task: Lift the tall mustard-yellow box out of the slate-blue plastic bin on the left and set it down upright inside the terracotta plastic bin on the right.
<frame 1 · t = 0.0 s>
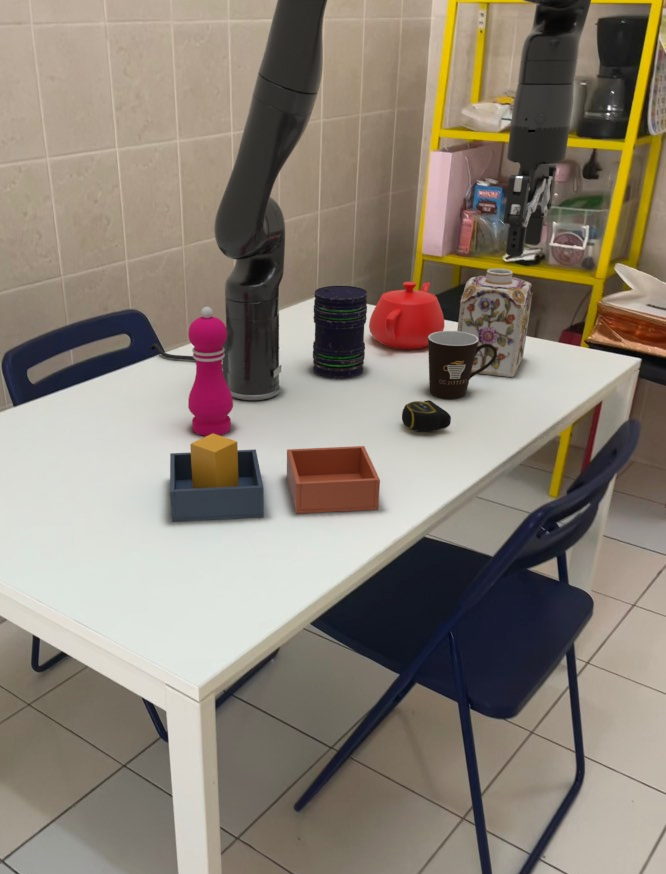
hand: (523, 249, 123), 29 cm above the table, tool pointing down, fingers open, 8 cm apart
decorative jar: (488, 366, 170), on the table
slate bin: (216, 498, 122), on the table
pepper mill: (211, 430, 143), on the table
teapot: (406, 341, 184), on the table
mustard box: (216, 495, 121), resting on slate bin
storage jar: (338, 371, 168), on the table
tape measure: (425, 428, 143), on the table
coffee mug: (455, 395, 156), on the table
terracotta bin: (330, 493, 123), on the table
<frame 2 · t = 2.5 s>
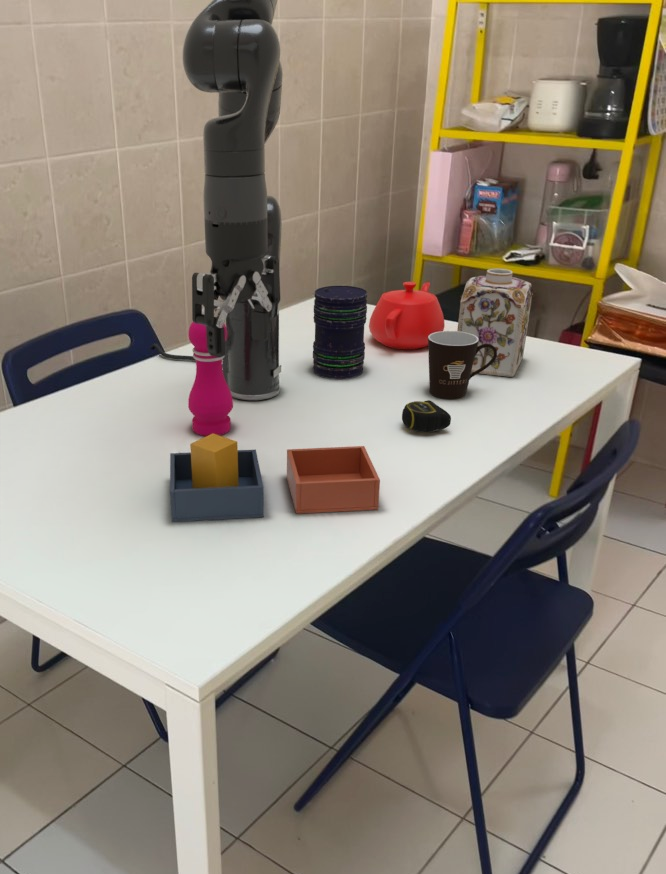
hand: (239, 347, 112), 21 cm above the table, tool pointing down, fingers open, 8 cm apart
nothing on the table moved.
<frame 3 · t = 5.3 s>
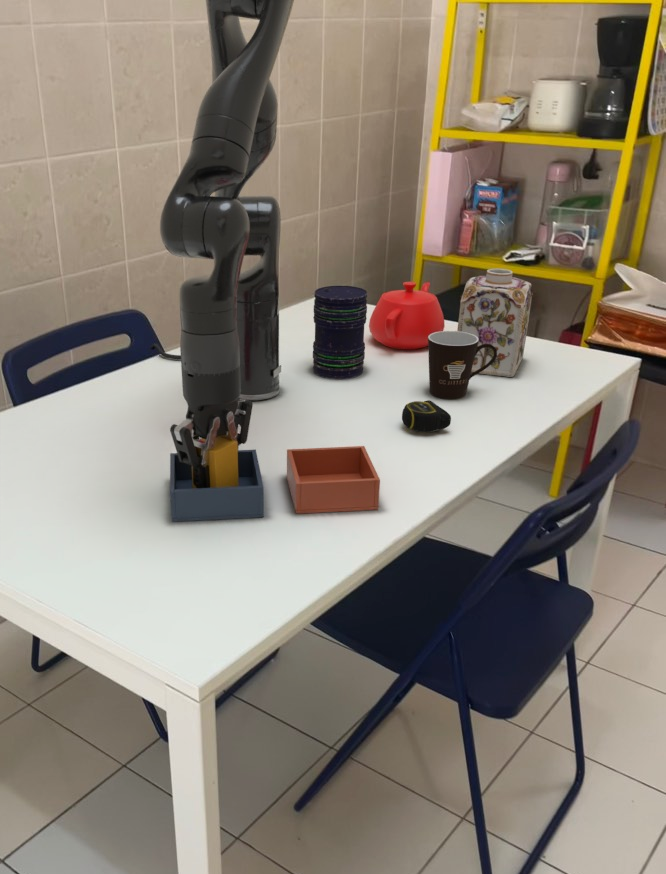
hand: (215, 481, 120), 3 cm above the table, tool pointing down, fingers closed on mustard box, 4 cm apart
mustard box: (216, 495, 121), resting on slate bin, touching gripper
everything else where it was.
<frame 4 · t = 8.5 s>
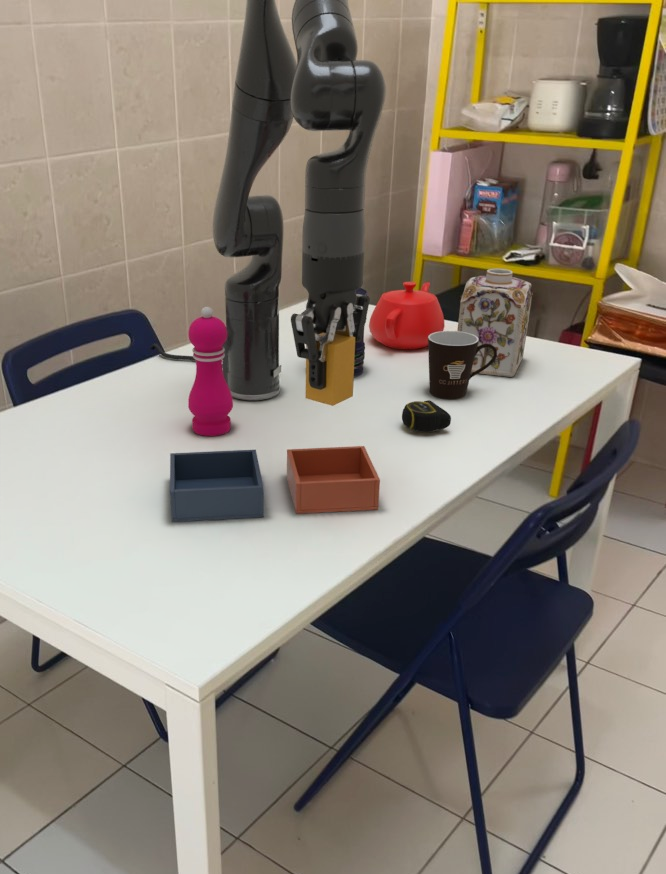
hand: (329, 381, 115), 16 cm above the table, tool pointing down, fingers closed on mustard box, 4 cm apart
mustard box: (329, 397, 116), point 14 cm above the table, touching gripper
everything else where it was.
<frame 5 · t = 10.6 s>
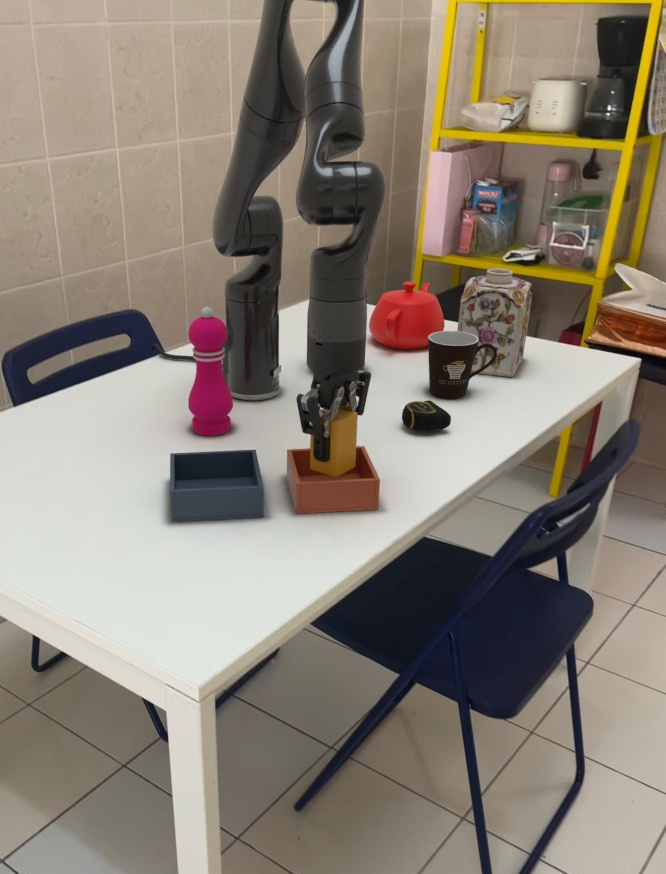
hand: (332, 453, 120), 6 cm above the table, tool pointing down, fingers closed on mustard box, 4 cm apart
mustard box: (332, 467, 121), point 4 cm above the table, touching gripper
everything else where it was.
when the fingers open (3 cm above the table, at t = 11.9 s): mustard box stays where it is, resting on terracotta bin.
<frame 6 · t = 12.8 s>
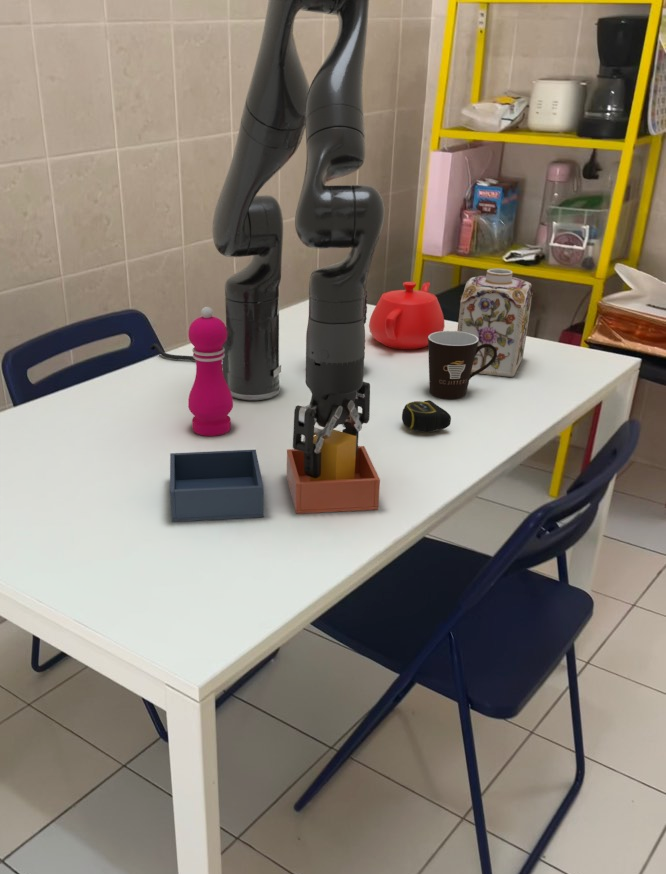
hand: (331, 465, 121), 4 cm above the table, tool pointing down, fingers open, 8 cm apart
mustard box: (331, 489, 123), resting on terracotta bin
everything else where it was.
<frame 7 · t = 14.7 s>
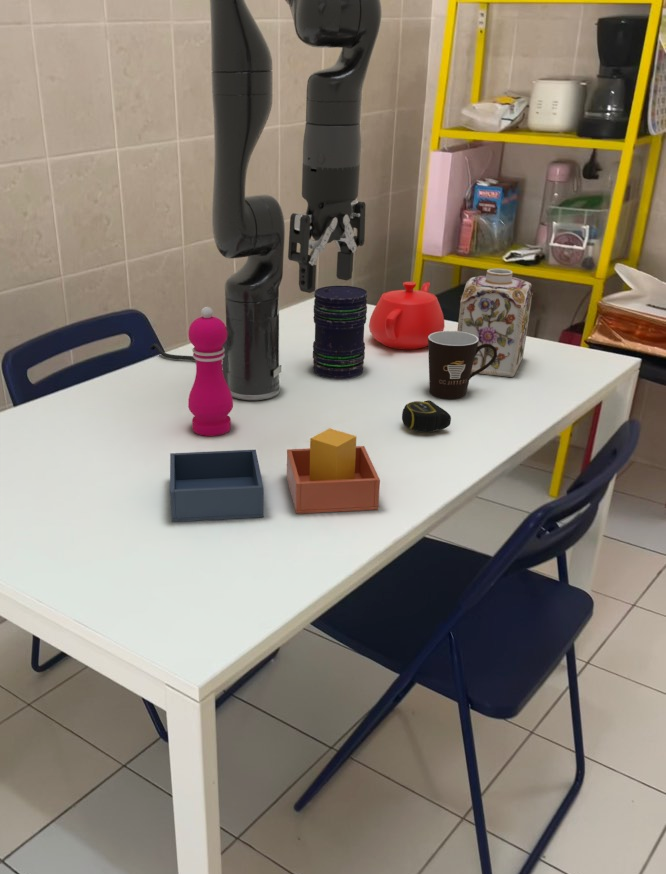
hand: (325, 285, 123), 25 cm above the table, tool pointing down, fingers open, 8 cm apart
nothing on the table moved.
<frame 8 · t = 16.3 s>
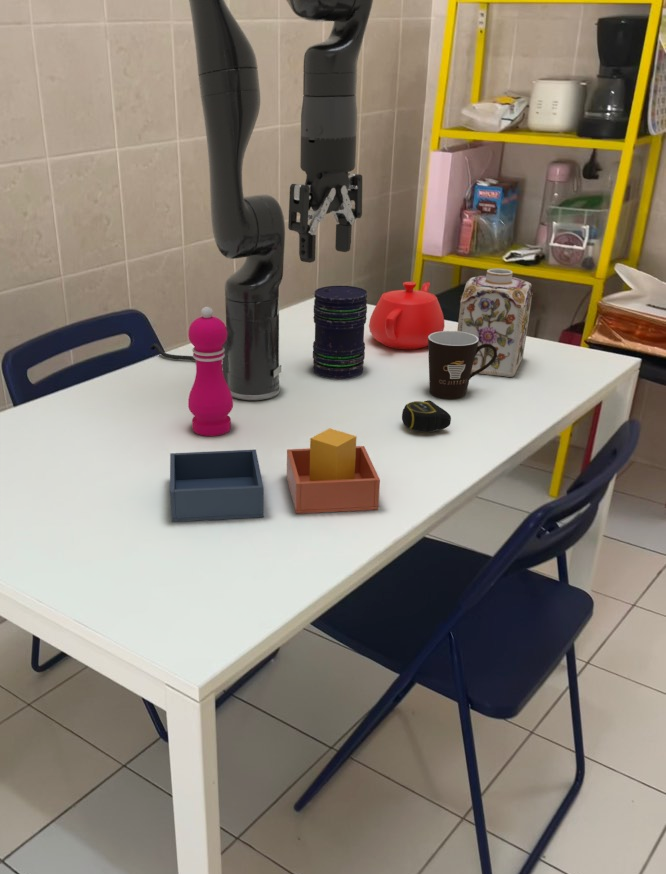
hand: (325, 256, 126), 28 cm above the table, tool pointing down, fingers open, 8 cm apart
nothing on the table moved.
at the end: mustard box inside the target area in the terracotta bin (0.1 cm from its centre), point 0.5 cm above the terracotta bin's base; mustard box tilted 0°; the gripper is holding nothing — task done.
